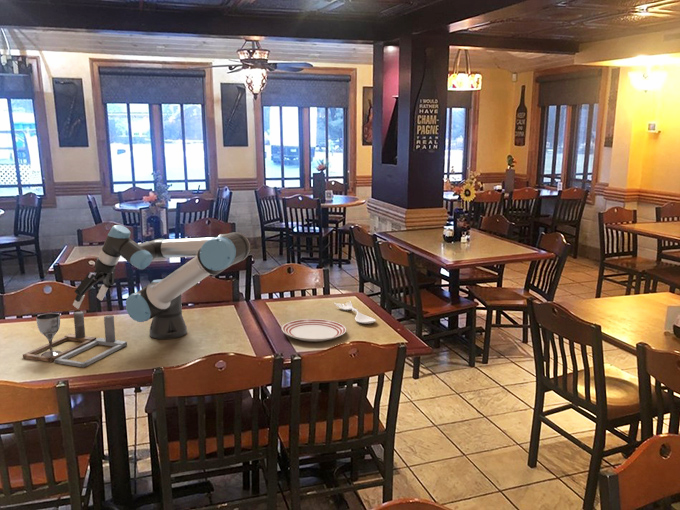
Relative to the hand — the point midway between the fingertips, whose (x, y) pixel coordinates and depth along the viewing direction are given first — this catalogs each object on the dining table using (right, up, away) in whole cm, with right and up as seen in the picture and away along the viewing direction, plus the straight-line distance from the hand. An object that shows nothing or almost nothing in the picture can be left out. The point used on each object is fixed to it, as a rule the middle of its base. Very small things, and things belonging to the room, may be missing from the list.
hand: (87, 302), depth 238 cm
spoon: (+111, -10, +36) cm, 117 cm away
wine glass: (-6, -18, -17) cm, 26 cm away
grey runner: (+9, -18, -17) cm, 26 cm away
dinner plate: (+92, -15, +9) cm, 94 cm away
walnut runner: (-5, -17, -13) cm, 22 cm away
